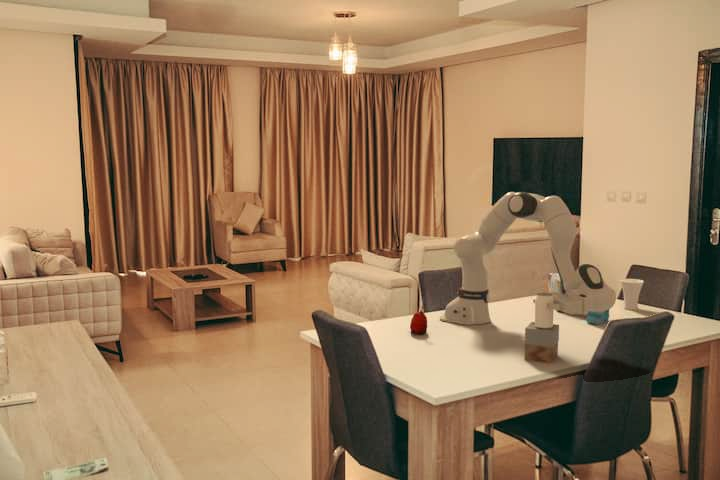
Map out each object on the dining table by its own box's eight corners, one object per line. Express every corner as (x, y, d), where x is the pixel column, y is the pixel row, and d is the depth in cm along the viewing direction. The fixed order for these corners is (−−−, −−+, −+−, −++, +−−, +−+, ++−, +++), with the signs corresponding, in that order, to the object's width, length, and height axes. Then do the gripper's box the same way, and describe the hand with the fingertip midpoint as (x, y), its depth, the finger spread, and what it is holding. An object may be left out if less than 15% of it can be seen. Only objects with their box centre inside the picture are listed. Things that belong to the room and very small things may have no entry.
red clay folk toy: (416, 329, 297) (416, 295, 295) (431, 332, 293) (431, 297, 291) (407, 333, 291) (407, 298, 289) (421, 336, 287) (421, 300, 285)
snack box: (569, 312, 327) (570, 280, 325) (557, 312, 328) (558, 280, 326) (557, 302, 348) (558, 272, 346) (546, 302, 349) (547, 272, 347)
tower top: (524, 344, 254) (525, 328, 254) (531, 337, 263) (531, 322, 262) (552, 347, 250) (553, 331, 249) (558, 340, 259) (559, 324, 258)
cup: (622, 305, 341) (623, 277, 340) (644, 307, 335) (646, 280, 334) (616, 309, 333) (617, 281, 331) (639, 312, 327) (640, 283, 325)
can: (554, 329, 251) (555, 295, 250) (535, 328, 252) (536, 295, 251) (551, 325, 257) (552, 293, 256) (533, 325, 258) (534, 292, 257)
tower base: (524, 360, 255) (524, 344, 254) (530, 353, 264) (530, 337, 263) (552, 364, 251) (553, 347, 250) (557, 356, 260) (558, 340, 259)
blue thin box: (595, 325, 304) (596, 298, 302) (586, 323, 307) (587, 296, 305) (609, 320, 312) (610, 293, 310) (599, 318, 315) (600, 292, 314)
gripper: (559, 287, 267) (526, 289, 264) (590, 298, 248) (555, 301, 244) (559, 303, 268) (526, 305, 265) (590, 315, 249) (555, 318, 245)
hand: (540, 303), depth 254 cm, fingers open, 8 cm apart
